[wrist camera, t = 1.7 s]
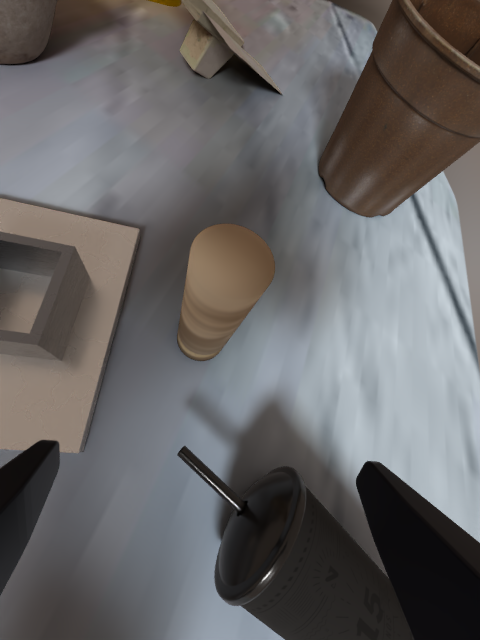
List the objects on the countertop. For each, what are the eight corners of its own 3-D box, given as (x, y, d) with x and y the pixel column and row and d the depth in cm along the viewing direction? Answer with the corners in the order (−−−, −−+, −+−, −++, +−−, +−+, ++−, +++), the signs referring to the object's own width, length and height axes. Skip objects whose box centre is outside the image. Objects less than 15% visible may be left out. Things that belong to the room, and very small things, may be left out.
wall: (180, 59, 43) (110, -29, 30) (219, 5, 40) (160, -123, 26) (240, 142, 44) (199, 94, 30) (284, 96, 40) (260, 17, 26)
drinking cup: (367, 759, 16) (119, 518, 16) (377, 596, 21) (193, 423, 22) (522, 853, 11) (156, 501, 11) (480, 607, 16) (239, 384, 17)
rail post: (201, 370, 22) (236, 316, 11) (166, 336, 22) (170, 252, 12) (233, 338, 24) (290, 265, 13) (201, 307, 24) (231, 210, 13)
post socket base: (83, 451, 18) (55, 459, 13) (-143, 439, 16) (-273, 444, 11) (140, 237, 25) (135, 194, 20) (-9, 205, 23) (-54, 147, 18)
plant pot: (405, 252, 34) (584, 123, 20) (291, 198, 32) (395, 13, 18) (409, 173, 41) (542, 34, 27) (314, 125, 39) (403, -52, 25)
